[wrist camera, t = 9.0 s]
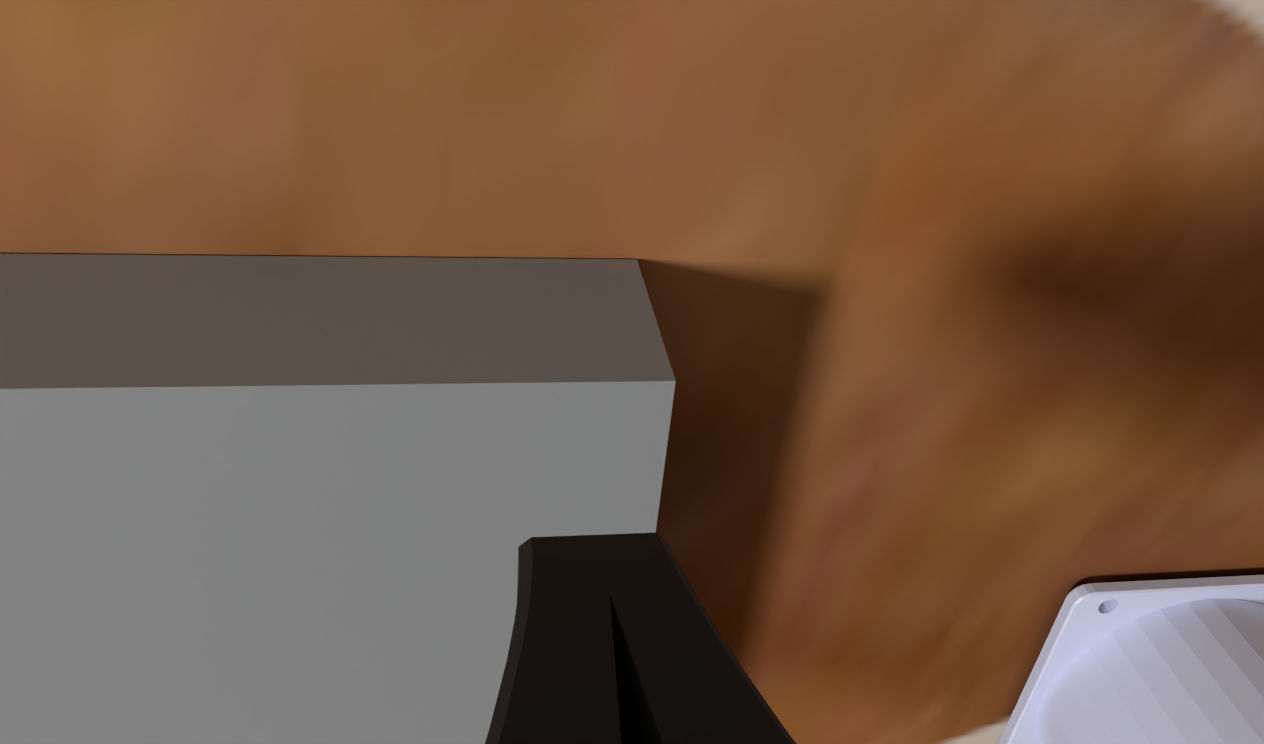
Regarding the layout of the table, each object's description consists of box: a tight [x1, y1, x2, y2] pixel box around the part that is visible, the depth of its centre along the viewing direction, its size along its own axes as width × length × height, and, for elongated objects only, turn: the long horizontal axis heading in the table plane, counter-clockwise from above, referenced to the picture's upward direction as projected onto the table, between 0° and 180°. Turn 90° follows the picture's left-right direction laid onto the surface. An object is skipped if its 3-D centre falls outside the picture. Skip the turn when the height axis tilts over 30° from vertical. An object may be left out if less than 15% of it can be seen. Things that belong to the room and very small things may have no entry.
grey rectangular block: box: [0, 254, 676, 744], centre depth 20 cm, size 11×14×4 cm
